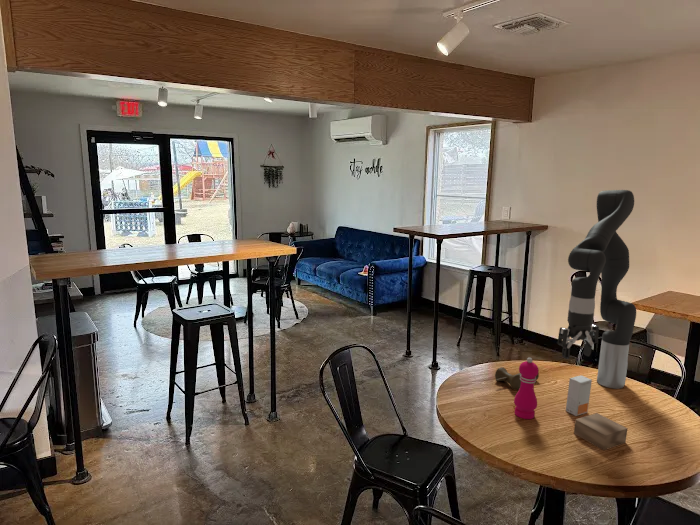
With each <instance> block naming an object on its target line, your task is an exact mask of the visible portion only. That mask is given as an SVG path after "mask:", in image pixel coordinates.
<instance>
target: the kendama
mask: <svg viewBox="0 0 700 525" xmlns="http://www.w3.org/2000/svg"><path fill="white" fill-rule="evenodd" d="M520 375H521V373H520V372H518V373H516V374H511V373H509V372H508V371H507V368H505V367H504V366H503V367H498V368H497V369H496V371H495V373H494V378H495V382H506V383H508V384H509V386H510V388H511V389H512V390H514V391H517V390H519V389H520V386H521V380H520ZM539 377H540V375H539V372H538V375H537V376H536V381H537V380H538V379H539Z"/></svg>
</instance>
